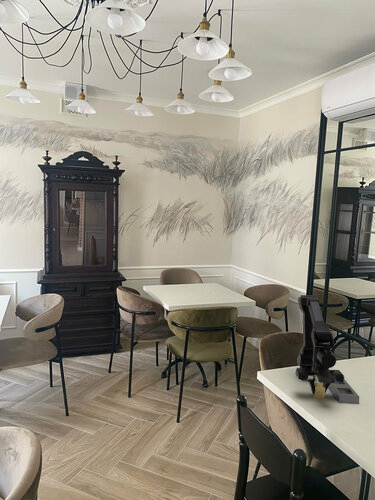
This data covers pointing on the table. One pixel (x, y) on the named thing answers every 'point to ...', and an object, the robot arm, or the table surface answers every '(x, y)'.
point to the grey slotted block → (344, 392)
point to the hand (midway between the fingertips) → (318, 394)
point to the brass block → (319, 391)
